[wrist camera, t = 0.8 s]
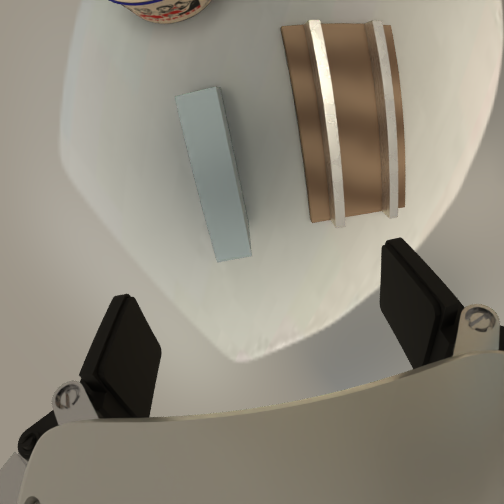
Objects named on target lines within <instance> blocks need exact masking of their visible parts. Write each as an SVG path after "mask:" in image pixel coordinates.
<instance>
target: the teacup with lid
mask: <svg viewBox="0 0 504 504" xmlns="http://www.w3.org/2000/svg"><path fill="white" fill-rule="evenodd" d="M109 1H111V2H114V3H117V4H121V5H123V6H124V7H126V8H127V9H129V10H130V11H132V12H133V13H135V14H136V15H138V16H139V17H141V18H142V19H144V20H147V21H150V22H154V23H174V22H179V21H182V20H185V19H188V18H190V17H192V16H194V15H195V14H197V13H199V12H200V11H201V10H203V9H204V8H205V7H206V6H207V5H208V4H209V3H210V1H211V0H109Z"/></svg>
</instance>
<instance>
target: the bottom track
mask: <svg viewBox="0 0 504 504" xmlns="http://www.w3.org/2000/svg"><path fill="white" fill-rule="evenodd" d="M281 32H282V37H283V42H284V47H285V52H286V57H287V62H288V68H289V73H290V79H291V84H292V90H293V96H294V102H295V108H296V114H297V120H298V127H299V133H300V140H301V147H302V154H303V161H304V169H305V177H306V185H307V193H308V201H309V210H310V220H311V222H312V223H315V222H320V221H326V220H331V221H332V223H333V224H334V226H335V227H336V228H339V227H344V226H345V217H349V216H355V215H361V214H366V213H372V212H378V211H382V212H383V213H384V214H385V215H387V216H388V217H389V218H395V217H398V208H402V207H405V141H404V123H403V109H402V98H401V89H400V80H399V72H398V65H397V58H396V52H395V46H394V40H393V35H392V29H391V25H383V24H382V21H373V20H372V21H370V22H367V23H365V24H348V23H335V24H321V23H320V20H308V21H307V22H306V23H305V24H304V25H292V26H282V27H281Z"/></svg>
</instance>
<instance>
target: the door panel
mask: <svg viewBox="0 0 504 504" xmlns="http://www.w3.org/2000/svg"><path fill="white" fill-rule="evenodd" d="M175 101H176V105H177V109H178V114H179V118H180V122H181V126H182V130H183V135H184V139H185V143H186V147H187V151H188V155H189V159H190V163H191V167H192V171H193V175H194V179H195V182H196V186H197V190H198V194H199V198H200V202H201V205H202V209H203V213H204V216H205V220H206V224H207V228H208V231H209V235H210V238H211V242H212V246H213V249H214V253H215V256H216V260H217V262H222V261H228V260H233V259H239V258H244V257H249V256H252V252H251V243H250V233H249V223H248V218H247V213H246V208H245V204H244V199H243V194H242V189H241V184H240V180H239V175H238V170H237V165H236V160H235V156H234V151H233V146H232V141H231V137H230V132H229V127H228V122H227V117H226V113H225V108H224V103H223V98H222V94H221V89H220V88H219V87H212V88H207V89H203V90H199V91H194V92H190V93H186V94H183V95H179V96H175Z"/></svg>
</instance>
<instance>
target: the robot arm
mask: <svg viewBox="0 0 504 504" xmlns="http://www.w3.org/2000/svg"><path fill="white" fill-rule="evenodd" d="M380 308H381V311H382V313H383V314H384V316H385V318H386V320H387V321H388V323H389V325H390V327H391V328H392V330H393V332H394V334H395V335H396V337H397V339H398V341H399V343H400V345H401V346H402V349H403V350H404V352H405V354H406V356H407V358H408V360H409V362H410V364H411V365H412V367H413V370H410V371H407V372H404V373H401V374H398V375H394V376H391V377H388V378H384V379H381V380H378V381H374V382H371V383H368V384H364V385H360V386H357V387H354V388H349V389H345V390H341V391H337V392H333V393H329V394H325V395H321V396H317V397H312V398H307V399H302V400H297V401H292V402H287V403H282V404H276V405H271V406H264V407H258V408H251V409H244V410H236V411H228V412H220V413H212V414H211V413H210V414H201V415H188V416H172V417H149V415H150V410H151V404H152V399H153V394H154V389H155V383H156V378H157V373H158V368H159V364H160V359H161V347H160V345H159V343H158V341H157V339H156V337H155V336H154V334H153V332H152V330H151V328H150V326H149V325H148V323H147V321H146V319H145V317H144V315H143V313H142V311H141V309H140V307H139V305H138V303H137V301H136V299H135V298H134V297H131V296H130V295H129V294H124V295H118V296H115V297H114V298H113V299H112V301H111V303H110V305H109V308H108V309H107V312H106V314H105V316H104V318H103V320H102V322H101V325H100V327H99V329H98V331H97V333H96V336H95V338H94V340H93V343H92V345H91V347H90V349H89V352H88V354H87V356H86V359H85V361H84V364H83V366H82V369H81V371H80V374H79V376H80V377H81V381H80V382H77V381H69V382H66V383H64V384H62V385H61V386H60V387H59V388H58V389H57V390H56V391H55V393H54V395H53V398H52V407H53V411H51V412H50V413H49V414H47V415H46V416H44V417H43V418H42V419H40V420H39V421H38V422H36V423H35V424H34V425H32V426H31V427H30V428H28V429H27V430H26V431H25V432H24V433H23V434H22V435H21V437H20V439H19V441H18V452H19V453H18V454H17V453H16V452H14V453H13V455H12V456H11V457H10V458H9V460H8V461H7V462H6V463H5V465H4V466H3V467H2V468H1V470H0V504H504V326H500V321H499V318H498V315H497V313H496V312H495V311H494V310H493V309H491V308H490V307H488V306H485V305H482V304H472V305H469V306H467V307H464V306H463V305H462V304H461V303H460V301H459V300H458V299H457V298H456V297H455V295H454V294H453V293H452V292H451V291H450V289H449V288H448V287H447V286H446V285H445V284H444V283H443V281H442V280H441V279H440V278H439V277H438V276H437V275H436V274H435V273H434V271H433V270H432V269H431V268H430V267H429V266H428V265H427V264H426V263H425V262H424V261H423V259H421V257H420V256H419V255H418V254H417V253H416V252H415V251H414V250H413V249H412V248H411V247H410V246H409V245H408V244H407V243H406V242H405V241H404V240H403V239H402V238H395V239H391V240H387V241H386V243H385V245H383V246H382V253H381V285H380Z"/></svg>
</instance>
